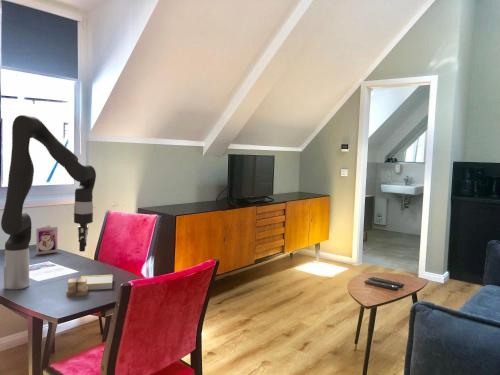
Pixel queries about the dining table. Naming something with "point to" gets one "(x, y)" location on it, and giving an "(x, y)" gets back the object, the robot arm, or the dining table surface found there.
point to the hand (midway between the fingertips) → (82, 248)
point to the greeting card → (46, 240)
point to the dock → (99, 282)
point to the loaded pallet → (77, 287)
